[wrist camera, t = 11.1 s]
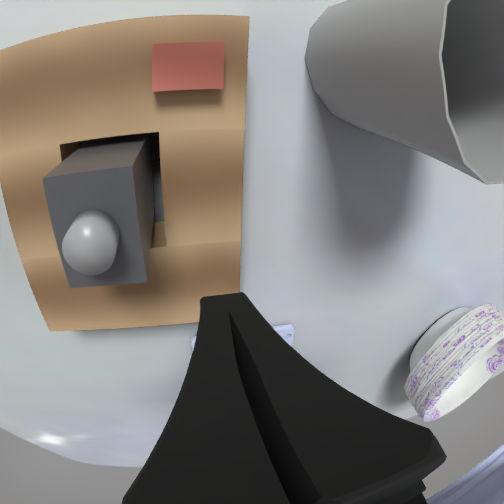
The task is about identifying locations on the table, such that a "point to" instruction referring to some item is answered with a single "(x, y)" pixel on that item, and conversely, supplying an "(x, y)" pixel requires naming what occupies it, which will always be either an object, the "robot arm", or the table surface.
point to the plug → (103, 211)
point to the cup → (417, 76)
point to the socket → (125, 123)
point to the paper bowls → (455, 359)
